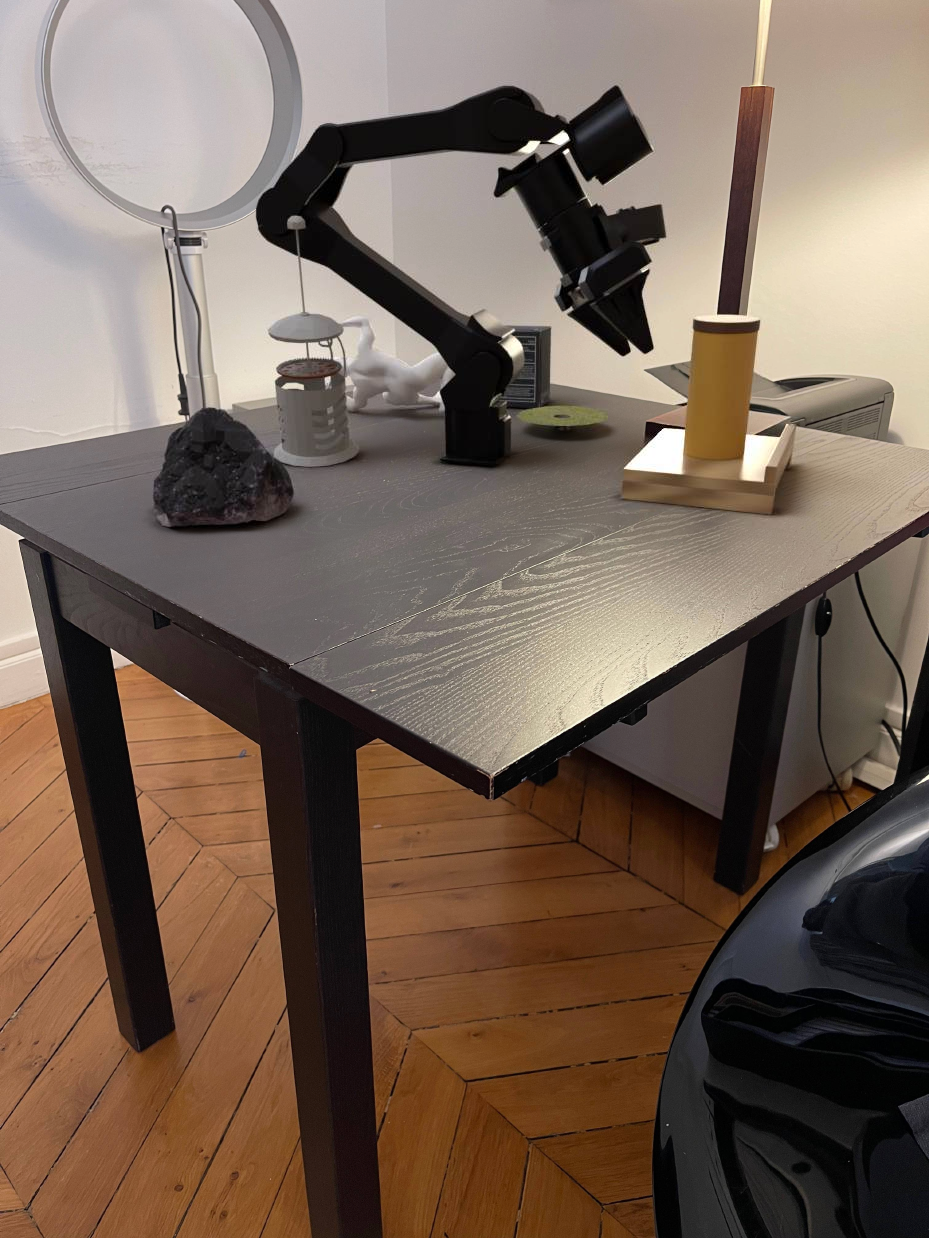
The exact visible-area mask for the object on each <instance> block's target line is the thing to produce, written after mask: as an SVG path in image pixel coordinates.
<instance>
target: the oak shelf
mask: <svg viewBox="0 0 929 1238" xmlns="http://www.w3.org/2000/svg"><path fill="white" fill-rule="evenodd" d="M796 431H797V424H795V423H786V424H785V427H784V428H783V431H782V433H781V435H780V436H767V435H755V434H746V442H745V451H744V455H743V456H742V457H740V458H737V459H731V460H706V459H699V458H694V457H691V456H688V455H686V454H685V453H684V452H683V446H684V434H685V429H679V428H663V429H661V431H659V432H658V433H657V435H656V436H655V437H653V439H652V440H650V441H649V442H648V444H646V446H644V447H643V449H642V450H640V451H639V452H638V453H637V454H636V455H635V456H634V457H633V458H632V460H630V462H628V463H627V464H626V465H625V467H624V468H623V469H622V481H621V495H620V496H621V497H620V498H621V500H630V501H639V502H647V503H648V502H649V503H658V504H668V505H676V506H678V505H679V506H686V507H694V508H695V507H696V508H705V509H714V510H724V511H733V512H740V513H741V512H742V513H751V514H758V515H759V514H761V515H772V513H773V510H774V506H775V505H774V504H775V497H776V491H777V488H778V485H779V484H780V481H781V479H782V476H783V474H784V472H785V470H790V469H791V466H792V459H793V453H794V447H795V437H796Z"/></svg>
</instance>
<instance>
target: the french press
mask: <svg viewBox="0 0 929 1238" xmlns="http://www.w3.org/2000/svg"><path fill="white" fill-rule="evenodd" d="M287 226H288V229H295V230H296V240H297V251H298V256H297V260H298V271H299V273H298V274H299V282H300V283H299V284H300V293H301V303H302V304H301V305H302V312H301V311H300V312H298V313H295V314H292V315H287V316H285V317H283V318H281V319H277V320H276V321H275V322H274V323H273V324H272V325H270V327H269V328H267V334H268V335H269V337H270V338H271V339H274V340H275V341H279V342H284V343H289V344H290V343H292V344H305V348H306V357H302V358H301V357H299V358H298V357H297V358H293V359H288V360H285V361H283V362H281V363H279V364H278V365H277V366H276V367H275V369H276V370H275V371H276V373H277V375H280V376H278V377H277V378H276V379H275V380H274V386H275V387H274V388H275V397H276V398H275V399H276V405H277V415H278V424H279V433H280V443H279V444H278V445H277V446H276V447H275V449H274V450H273V458H275V459H277V460H278V461H279V462H281V463H283V464H287V465H291V466H293V467H294V466H295V467H309V468H313V467H325V466H332V465H336V464H339V463H340V464H341V463H345V462H347V461H348V460H350V459H352V458H354V457H356V456H357V454H358V453H359V452H360V448H359V444H357V442H355V441H354V440H353V439H351V438H350V428H349V427H348V425H349V417H348V416H347V414H348V412H349V410H348V409H347V406H346V401H347V396H348V395H347V394H346V390H347V386H346V385H347V384H346V377H345V375H346V359H345V357H346V351H345V348H344V345H343V342H342V340H341V338H340V337H341V335H343V333H344V331H345V329H344V328H345V327H343V326H342V325H340V324H339V323H338V322H339V321H336V320H335V319H334V318H332V317H330V316H326V315H323V314H321V313H310V312H308V311H306V307H305V296H304V285H303V284H304V283H303V273H302V261H301V257H300V249H299V238H298V229H303V228H306V226H305V220H304V219H303V218H302V217H300V216H291V217H290V218H289V219H288V222H287ZM335 339H337V340H338V342H339V345H340V347H341V351H342V357H343V359H344V374H343V375H341V374H339V373H338V372H339V371H340V370H341V368H342V366H341V363H340V362H337V361H335V360H333V358H334V351H333V349H332V346H333V344H334V342H333V341H334V340H335ZM321 342H327V344H323V343H321ZM311 343H312V344H313V343H314V344H315V343H317V344H318V345H319V346H320V347H321V348H328V349H329V354H330V358H329V357H320V358H319V356H317V357H313V356H312V357H310V351H309V344H311ZM329 377H330V380H329V382H330V383H329V386H328V389H326V388H325V382H326V380H325V379H326V378H329ZM286 384H299V385H302V386H303V389H301V388H283V387H284V386H286ZM330 386H331V388H330ZM330 408H332V412H330V413H329V412H328V409H330ZM330 420H333V423H331V424H329V421H330Z"/></svg>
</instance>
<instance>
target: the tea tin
mask: <svg viewBox="0 0 929 1238" xmlns="http://www.w3.org/2000/svg"><path fill="white" fill-rule="evenodd" d="M760 326H761V318H760V317H757V316H751V315H742V314H708V315H707V314H706V315H699V316H698V315H697V316H694V317H693V319H692V342H691V352H690V365H689V376H688V377H689V378H688V387H687V388H688V390H687V400H686V410H685V422H684V423H685V424H684V430H685V434H684V446H683V452H684V453H685V454H686V455H688V456H691V457H694V458H699V459H706V460H731V459H737V458H740V457H742V456H743V455H744V451H745V442H746V435H747V432H748V426H749V425H748V423H749V416H750V415H749V414H750V407H751V406H750V405H751V398H752V390H753V389H752V388H753V379H754V372H755V371H754V370H755V362H756V352H757V345H758V343H757V342H758V337H759V335H758V334H759V331H760V329H761V327H760Z"/></svg>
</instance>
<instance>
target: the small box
mask: <svg viewBox="0 0 929 1238" xmlns="http://www.w3.org/2000/svg"><path fill="white" fill-rule="evenodd" d="M503 325H504V326H506V327H509V328H513V329H515V332H514V333H512V334H511V335H512V336H514V337H515V338H516V339H517V340H518V341H519V342H520V343H521V345H522V347H523V352H524V358H525V359H524V367H523V369H522V371H521V373H520V375H519V376H518V377H517V378H516V379H515V380H514V381H513V382H512V383H511V384H510V385H508V386H507V389H506V392H505V394H504V396H503V397H500V398H499V399H498V400H499V401H506V402H507V407H506V408H517V409H519V408H520V409H533V408H540V407H544V406H545V405H546V404H547V403H549V402H550V400H551V361H552V360H551V359H552V355H551V353H552V350H551V349H552V326H551V325H513V324H512V325H511V324H510V325H507V324H506V325H505V324H503Z"/></svg>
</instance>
